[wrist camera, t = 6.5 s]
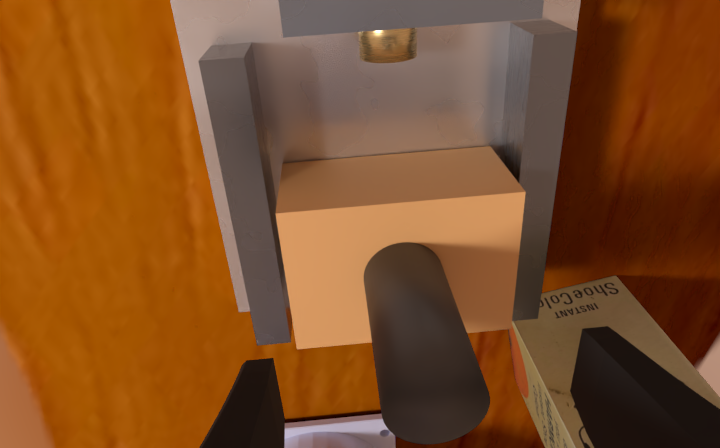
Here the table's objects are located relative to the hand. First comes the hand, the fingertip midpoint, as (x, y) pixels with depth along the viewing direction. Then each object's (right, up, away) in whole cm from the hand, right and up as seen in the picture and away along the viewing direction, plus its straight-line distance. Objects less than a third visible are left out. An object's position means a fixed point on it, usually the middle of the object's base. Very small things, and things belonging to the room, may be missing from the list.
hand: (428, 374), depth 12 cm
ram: (-1, +4, +7) cm, 8 cm away
